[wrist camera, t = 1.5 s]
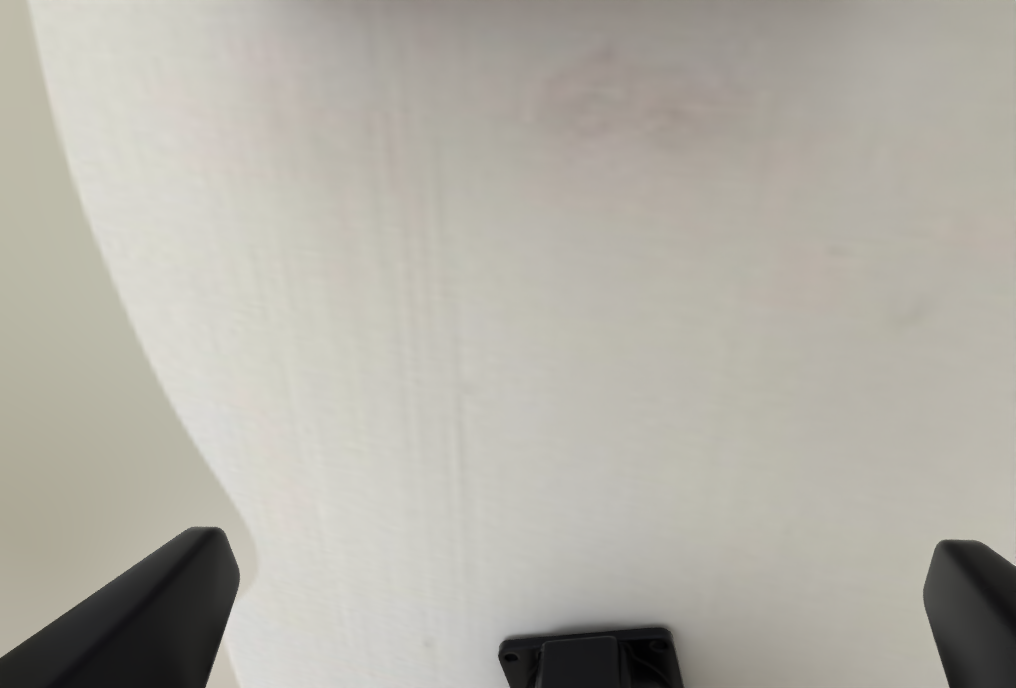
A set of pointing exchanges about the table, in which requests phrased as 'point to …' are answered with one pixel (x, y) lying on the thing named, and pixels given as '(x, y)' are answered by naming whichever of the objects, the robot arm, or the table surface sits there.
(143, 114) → the table surface
